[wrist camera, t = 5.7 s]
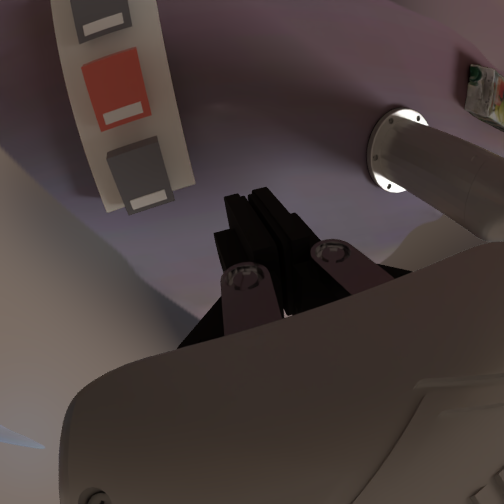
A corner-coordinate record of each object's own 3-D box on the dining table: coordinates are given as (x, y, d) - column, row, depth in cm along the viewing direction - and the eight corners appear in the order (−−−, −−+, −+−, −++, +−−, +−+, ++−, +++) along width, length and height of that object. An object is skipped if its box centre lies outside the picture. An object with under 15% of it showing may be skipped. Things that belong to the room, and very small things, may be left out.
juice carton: (459, 111, 38) (488, 120, 33) (466, 59, 33) (495, 65, 28) (501, 132, 44) (523, 142, 39) (507, 92, 39) (530, 100, 34)
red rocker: (136, 46, 18) (136, 48, 17) (150, 109, 23) (151, 115, 22) (83, 64, 17) (80, 67, 16) (102, 126, 22) (101, 132, 21)
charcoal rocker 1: (122, -33, 14) (121, -37, 13) (132, 26, 18) (132, 26, 17) (70, -16, 13) (66, -18, 12) (82, 43, 17) (79, 44, 16)
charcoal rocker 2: (156, 135, 23) (158, 142, 22) (172, 192, 27) (175, 201, 26) (107, 151, 22) (106, 159, 21) (128, 206, 27) (129, 216, 26)
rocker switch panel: (149, -23, 18) (150, -37, 15) (190, 173, 31) (196, 186, 28) (60, 6, 16) (48, -3, 13) (110, 199, 29) (106, 216, 26)
